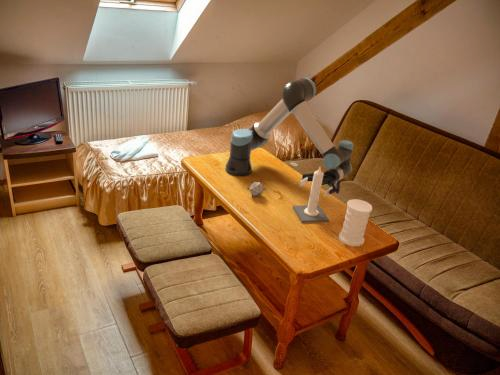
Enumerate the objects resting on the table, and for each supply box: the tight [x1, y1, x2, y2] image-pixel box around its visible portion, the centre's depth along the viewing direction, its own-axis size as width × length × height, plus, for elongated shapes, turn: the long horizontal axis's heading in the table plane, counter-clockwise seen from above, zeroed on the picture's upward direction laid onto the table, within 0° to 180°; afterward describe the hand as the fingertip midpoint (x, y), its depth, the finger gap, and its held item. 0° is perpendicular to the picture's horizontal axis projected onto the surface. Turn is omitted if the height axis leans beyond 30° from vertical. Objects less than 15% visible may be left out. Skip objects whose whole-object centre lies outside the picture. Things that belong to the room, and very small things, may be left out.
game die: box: [247, 180, 266, 198], centre depth 225 cm, size 9×8×10 cm
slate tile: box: [292, 204, 330, 224], centre depth 216 cm, size 14×14×1 cm
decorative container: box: [338, 198, 373, 247], centre depth 196 cm, size 12×12×18 cm
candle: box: [304, 166, 325, 216], centre depth 209 cm, size 7×7×25 cm
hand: (312, 188), depth 206 cm, fingers open, 13 cm apart
